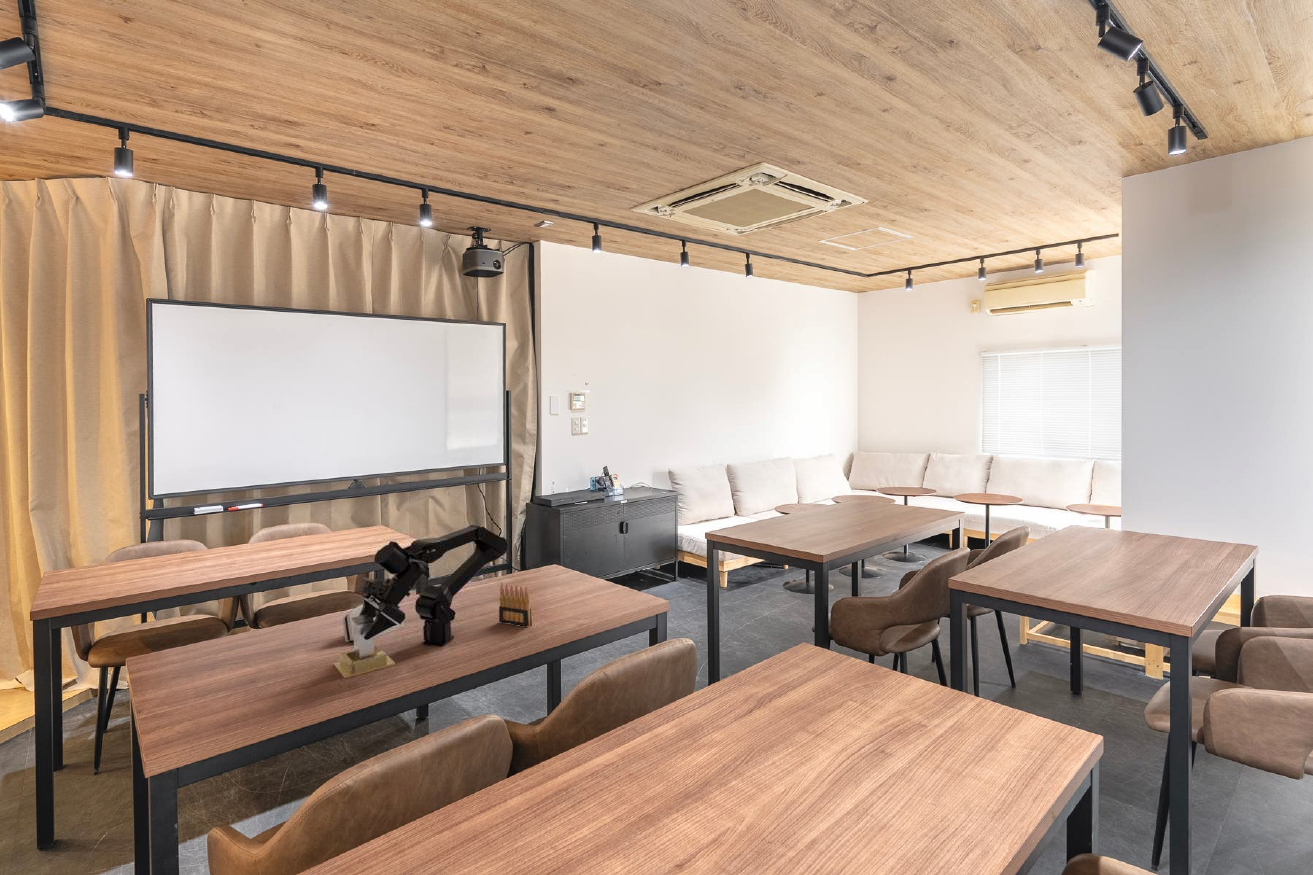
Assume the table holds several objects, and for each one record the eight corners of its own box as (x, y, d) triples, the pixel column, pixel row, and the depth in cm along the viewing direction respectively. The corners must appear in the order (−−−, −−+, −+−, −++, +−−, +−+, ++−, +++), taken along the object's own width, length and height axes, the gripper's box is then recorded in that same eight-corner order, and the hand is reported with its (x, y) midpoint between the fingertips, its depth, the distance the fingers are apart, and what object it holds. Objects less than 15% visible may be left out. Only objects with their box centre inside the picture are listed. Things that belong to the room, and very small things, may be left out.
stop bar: (369, 657, 168) (367, 614, 167) (375, 664, 164) (373, 619, 163) (354, 661, 165) (351, 617, 165) (359, 668, 161) (357, 623, 160)
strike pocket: (382, 652, 172) (382, 641, 172) (395, 664, 164) (394, 653, 164) (333, 664, 165) (333, 654, 165) (344, 678, 157) (344, 667, 156)
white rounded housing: (356, 644, 178) (347, 609, 179) (346, 647, 180) (336, 613, 181) (405, 624, 193) (396, 592, 194) (395, 627, 195) (386, 596, 196)
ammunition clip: (532, 625, 191) (530, 585, 190) (528, 627, 189) (527, 587, 188) (502, 620, 195) (501, 581, 194) (498, 622, 193) (497, 583, 192)
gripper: (368, 558, 173) (325, 608, 167) (389, 572, 158) (343, 627, 152) (399, 581, 178) (359, 630, 172) (423, 597, 164) (380, 650, 158)
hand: (359, 633), depth 164 cm, fingers open, 9 cm apart
